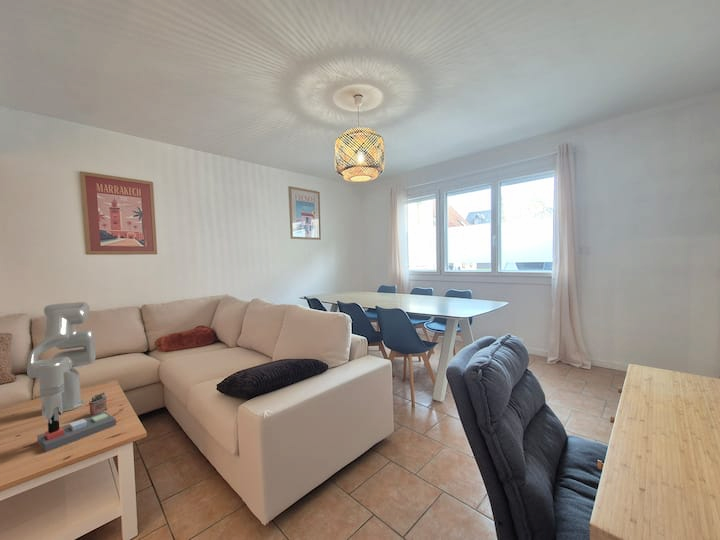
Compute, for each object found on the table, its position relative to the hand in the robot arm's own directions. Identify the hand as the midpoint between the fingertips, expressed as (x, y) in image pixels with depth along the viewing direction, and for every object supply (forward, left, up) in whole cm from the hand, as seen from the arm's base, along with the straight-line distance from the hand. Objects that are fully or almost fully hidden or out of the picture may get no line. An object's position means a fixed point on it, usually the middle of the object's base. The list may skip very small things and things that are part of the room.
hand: (53, 430), depth 131 cm
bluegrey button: (0, +8, -4) cm, 9 cm away
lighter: (-16, +20, -6) cm, 27 cm away
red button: (0, 0, -4) cm, 4 cm away
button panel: (0, +8, -5) cm, 10 cm away
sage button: (0, +16, -5) cm, 17 cm away
